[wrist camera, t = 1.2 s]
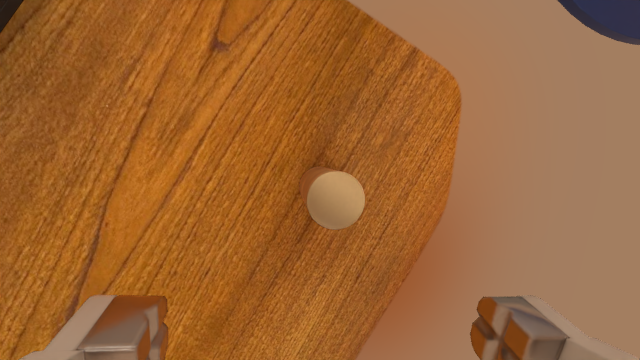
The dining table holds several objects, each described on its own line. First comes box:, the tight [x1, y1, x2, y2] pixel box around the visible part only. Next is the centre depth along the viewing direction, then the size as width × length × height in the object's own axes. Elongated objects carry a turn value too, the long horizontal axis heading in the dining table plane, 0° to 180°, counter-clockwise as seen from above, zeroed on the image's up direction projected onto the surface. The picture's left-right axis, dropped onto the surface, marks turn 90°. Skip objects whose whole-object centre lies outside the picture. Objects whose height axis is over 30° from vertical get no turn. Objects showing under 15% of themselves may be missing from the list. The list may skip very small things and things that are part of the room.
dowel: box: [299, 166, 365, 230], centre depth 24 cm, size 4×4×9 cm
